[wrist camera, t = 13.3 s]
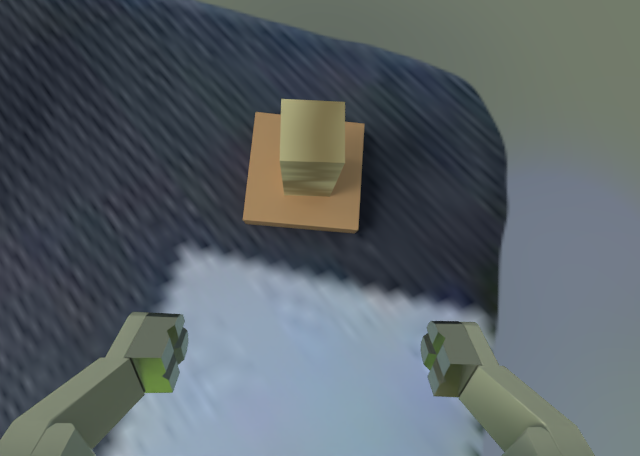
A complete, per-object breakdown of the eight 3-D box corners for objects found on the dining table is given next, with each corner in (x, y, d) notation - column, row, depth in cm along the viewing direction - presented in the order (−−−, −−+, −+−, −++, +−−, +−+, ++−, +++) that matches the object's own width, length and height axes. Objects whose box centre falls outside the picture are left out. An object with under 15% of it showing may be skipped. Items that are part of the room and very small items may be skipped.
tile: (246, 224, 31) (242, 219, 29) (258, 124, 33) (255, 111, 30) (353, 234, 32) (358, 230, 29) (359, 135, 33) (364, 123, 31)
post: (284, 195, 29) (279, 160, 20) (285, 151, 30) (281, 99, 21) (329, 196, 29) (345, 162, 21) (330, 153, 30) (344, 101, 21)
